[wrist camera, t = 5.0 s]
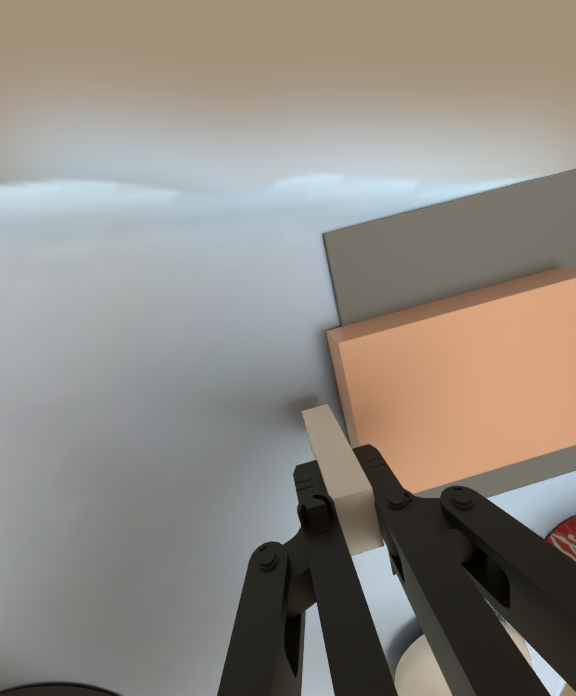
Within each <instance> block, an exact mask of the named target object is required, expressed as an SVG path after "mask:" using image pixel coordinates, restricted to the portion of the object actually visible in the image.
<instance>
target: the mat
mask: <svg viewBox="0 0 576 696" xmlns="http://www.w3.org/2000/svg"><path fill="white" fill-rule="evenodd" d="M323 238H324V243H325V248H326V253H327V258H328V263H329V268H330V273H331V278H332V283H333V288H334V293H335V298H336V303H337V308H338V313H339V318H340V323H341V327H343V326H346V325H350V324H354V323H357V322H361V321H365V320H368V319H372V318H376V317H379V316H383V315H387V314H390V313H394V312H397V311H401V310H405V309H408V308H412V307H416V306H419V305H423V304H427V303H430V302H434V301H438V300H441V299H445V298H449V297H452V296H456V295H460V294H463V293H467V292H471V291H474V290H478V289H482V288H485V287H489V286H493V285H496V284H500V283H504V282H507V281H511V280H515V279H518V278H522V277H526V276H529V275H533V274H537V273H540V272H544V271H548V270H551V269H555V268H576V169H573V170H569V171H565V172H562V173H558V174H553V175H550V176H546V177H542V178H538V179H534V180H530V181H526V182H522V183H519V184H515V185H511V186H507V187H503V188H499V189H495V190H492V191H488V192H484V193H480V194H476V195H472V196H468V197H464V198H461V199H457V200H453V201H449V202H445V203H441V204H437V205H433V206H430V207H426V208H422V209H418V210H414V211H410V212H406V213H403V214H399V215H395V216H391V217H387V218H383V219H379V220H375V221H372V222H368V223H364V224H360V225H356V226H352V227H348V228H344V229H341V230H337V231H333V232H329V233H325V234H323ZM573 471H576V445H574V446H570V447H567V448H564V449H560V450H557V451H554V452H550V453H547V454H544V455H540V456H537V457H534V458H530V459H527V460H524V461H520V462H517V463H514V464H510V465H507V466H504V467H501V468H497V469H494V470H491V471H487V472H484V473H481V474H477V475H474V476H471V477H467V478H464V479H461V480H457V481H454V482H451V483H447V484H444V485H441V486H437V487H434V488H431V489H428V490H424V491H421V492H418V493H414V494H413V495H414V496H418V497H422V498H440V496H441V493H442V491H443V490H445V489H446V488H448V487H451V486H464V487H469V488H471V489H473V490H475V491H476V492H478V493H479V494H481V495H482V496H484V497H485V498H488V497H491V496H494V495H498V494H501V493H504V492H507V491H511V490H514V489H517V488H521V487H524V486H527V485H530V484H534V483H537V482H540V481H543V480H547V479H550V478H553V477H557V476H560V475H563V474H566V473H570V472H573Z"/></svg>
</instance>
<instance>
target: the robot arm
mask: <svg viewBox="0 0 576 696" xmlns="http://www.w3.org/2000/svg"><path fill="white" fill-rule="evenodd" d="M302 415H303V419H304V422H305V426H306V430H307V434H308V437H309V441H310V445H311V449H312V452H313V455H314V459H315V460H314V461H311V462H307V463H304V464H300V465H297V466H296V467H295V470H294V474H293V476H294V481H295V487H296V491H297V497H298V502H299V504H298V506H297V513H298V516H299V519H300V523H301V528H300V529H299V531H298V533H297V534H296V535H295V537H293V538H292V539H291V540H289V541H288V542H286V543H285V544H283V545H282V544H280V543H279V542H272V541H271V542H267V543H264V544H262V545H261V546H259V547H258V548H257V549H256V550H255V551H254V552H253V554H252V556H251V558H250V560H249V564H248V569H247V573H246V577H245V581H244V585H243V589H242V594H241V598H240V602H239V606H238V610H237V615H236V619H235V623H234V627H233V631H232V635H231V640H230V644H229V648H228V652H227V656H226V661H225V665H224V669H223V673H222V677H221V682H220V686H219V690H218V694H217V696H301V687H302V669H303V651H304V633H305V615H306V612H305V610H306V609H308V608H309V607H310V606H312V605H313V604H314V603H316V602H317V606H318V612H319V617H320V622H321V627H322V632H323V637H324V642H325V648H326V653H327V658H328V663H329V668H330V673H331V679H332V684H333V689H334V694H335V696H398V694H397V691H396V688H395V685H394V682H393V679H392V676H391V673H390V670H389V667H388V664H387V661H386V658H385V655H384V652H383V649H382V646H381V643H380V641H379V638H378V635H377V632H376V629H375V626H374V623H373V620H372V617H371V614H370V611H369V608H368V605H367V602H366V599H365V596H364V593H363V590H362V587H361V584H360V581H359V579H358V576H357V573H356V570H355V567H354V564H353V561H352V558H351V556H352V555H355V554H359V553H362V552H365V551H369V550H372V549H375V548H378V547H382V546H384V542H383V539H384V541H385V544H386V546H387V548H388V552H389V557H390V562H391V567H392V572H393V575H395V574H397V576H398V578H399V580H400V582H401V584H402V587H403V589H404V591H405V593H406V595H407V598H408V600H409V602H410V604H411V606H412V608H413V611H414V613H415V615H416V617H417V619H418V622H419V624H420V626H421V628H422V630H423V632H424V635H425V637H426V639H427V641H428V643H429V646H430V648H431V650H432V652H433V654H434V656H435V659H436V661H437V663H438V665H439V667H440V670H441V672H442V674H443V676H444V678H445V681H446V683H447V685H448V687H449V689H450V691H451V694H452V696H551V695H550V694H549V692H548V691H547V689H546V688H545V686H544V685H543V684H542V682H541V681H540V679H539V678H538V676H537V675H536V673H535V672H534V670H533V669H532V667H531V666H530V665H529V663H528V662H527V660H526V659H525V657H524V656H523V654H522V653H521V651H520V650H519V648H518V647H517V645H516V644H515V643H514V641H513V640H512V638H511V637H510V635H509V634H508V632H507V631H506V629H505V628H504V626H503V625H502V623H501V622H500V621H499V619H498V618H497V616H496V615H495V613H494V612H493V610H492V609H491V607H490V606H489V604H488V603H487V602H486V600H487V601H488V602H489V603H490V604H491V605H492V606H493V607H494V608H495V609H496V610H497V611H498V612H499V613H500V614H501V615H502V616H503V617H504V618H505V620H506V621H507V622H508V623H509V624H510V625H511V626H512V627H513V628H514V629H515V630H516V631H517V632H518V633H519V634H520V635H521V636H522V637H523V638H524V639H525V640H526V641H527V642H528V643H529V644H530V645H531V646H532V647H533V648H534V649H535V650H536V651H537V652H538V653H539V655H540V656H541V657H542V658H543V659H544V660H545V661H546V662H547V663H548V664H549V665H550V666H551V667H552V668H553V669H554V670H555V671H556V672H557V673H558V674H559V675H560V676H561V677H562V678H563V679H564V680H565V681H566V682H567V683H568V684H569V685H570V686H571V687H572V688H573V689H574V690H575V691H576V561H574V560H573V559H572V558H570V557H569V556H567V555H566V554H564V553H563V552H562V551H560V550H559V549H557V548H556V547H554V546H553V545H552V544H550V543H549V542H547V541H546V540H545V539H543V538H542V537H540V536H539V535H537V534H536V533H535V532H533V531H532V530H530V529H529V528H528V527H526V526H525V525H523V524H522V523H520V522H519V521H518V520H516V519H515V518H513V517H512V516H511V515H509V514H508V513H506V512H505V511H503V510H502V509H501V508H499V507H498V506H496V505H495V504H493V503H492V502H491V501H489V500H488V499H486V498H485V497H484V496H482V495H481V494H479V493H478V492H476V491H475V490H473V489H471V488H469V487H464V486H451V487H448V488H446V489H445V490H443V491H442V493H441V496H440V498H422V497H418V496H414V495H413V494H412V493H411V492H410V491H408V490H406V489H404V488H403V487H402V485H401V484H400V482H399V481H398V479H397V478H396V476H395V475H394V473H393V472H392V470H391V469H390V467H389V466H388V464H387V463H386V461H385V459H384V458H383V456H382V455H381V453H380V452H379V450H378V449H377V448H375V447H373V446H372V445H370V444H367V445H363V446H360V447H356V448H353V449H351V447H350V445H349V443H348V441H347V439H346V437H345V435H344V433H343V432H342V430H341V428H340V426H339V424H338V422H337V420H336V418H335V416H334V414H333V413H332V411H331V409H330V407H329V405H328V404H325V405H321V406H318V407H314V408H311V409H307V410H304V411H302ZM382 537H383V538H382ZM484 598H485V599H486V600H485V599H484ZM0 696H111V695H109V694H106V693H103V692H99V691H95V690H91V689H86V688H80V687H71V686H40V687H30V688H24V689H18V690H14V691H9V692H6V693H2V694H0Z"/></svg>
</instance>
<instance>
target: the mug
mask: <svg viewBox="0 0 576 696" xmlns="http://www.w3.org/2000/svg"><path fill="white" fill-rule="evenodd" d="M546 541H547V542H549V543H550V544H552V545H553V546H554V547H556V548H557V549H559V550H560V551H562V552H563V553H564V554H566V555H567V556H569V557H570V558H572V559H573V560H574V561H576V516H575V517H572V518H570V519H568V520H567V521H565V522H563V523H562V524H561V525H559V526H558V527H557V528H556V529H555V530H554V531H553V532H552V533H551V534H550V535H549V536H548V538H547V539H546Z"/></svg>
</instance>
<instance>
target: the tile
mask: <svg viewBox="0 0 576 696" xmlns="http://www.w3.org/2000/svg"><path fill="white" fill-rule="evenodd" d="M326 335H327V339H328V344H329V349H330V353H331V358H332V362H333V367H334V372H335V376H336V381H337V385H338V390H339V395H340V399H341V404H342V409H343V413H344V418H345V422H346V427H347V432H348V436H349V441H350V445H351V449H353V448H356V447H360V446H363V445H367V444H370V445H372V446H373V447H375V448H377V449H378V450H379V452H380V453H381V455H382V456H383V458H384V459H385V461H386V463H387V464H388V466H389V467H390V469H391V470H392V472H393V473H394V475H395V476H396V478H397V479H398V481H399V482H400V484H401V485H402V487H403V488H404V489H406V490H408V491H410V492H411V493H412V494H414V493H418V492H421V491H424V490H428V489H431V488H434V487H437V486H441V485H444V484H447V483H451V482H454V481H457V480H461V479H464V478H467V477H471V476H474V475H477V474H481V473H484V472H487V471H491V470H494V469H497V468H501V467H504V466H507V465H510V464H514V463H517V462H520V461H524V460H527V459H530V458H534V457H537V456H540V455H544V454H547V453H550V452H554V451H557V450H560V449H564V448H567V447H570V446H574V445H576V268H555V269H551V270H548V271H544V272H540V273H537V274H533V275H529V276H526V277H522V278H518V279H515V280H511V281H507V282H504V283H500V284H496V285H493V286H489V287H485V288H482V289H478V290H474V291H471V292H467V293H463V294H460V295H456V296H452V297H449V298H445V299H441V300H438V301H434V302H430V303H427V304H423V305H419V306H416V307H412V308H408V309H405V310H401V311H397V312H394V313H390V314H387V315H383V316H379V317H376V318H372V319H368V320H365V321H361V322H357V323H354V324H350V325H346V326H343V327H339V328H335V329H332V330H328V331H326Z"/></svg>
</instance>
